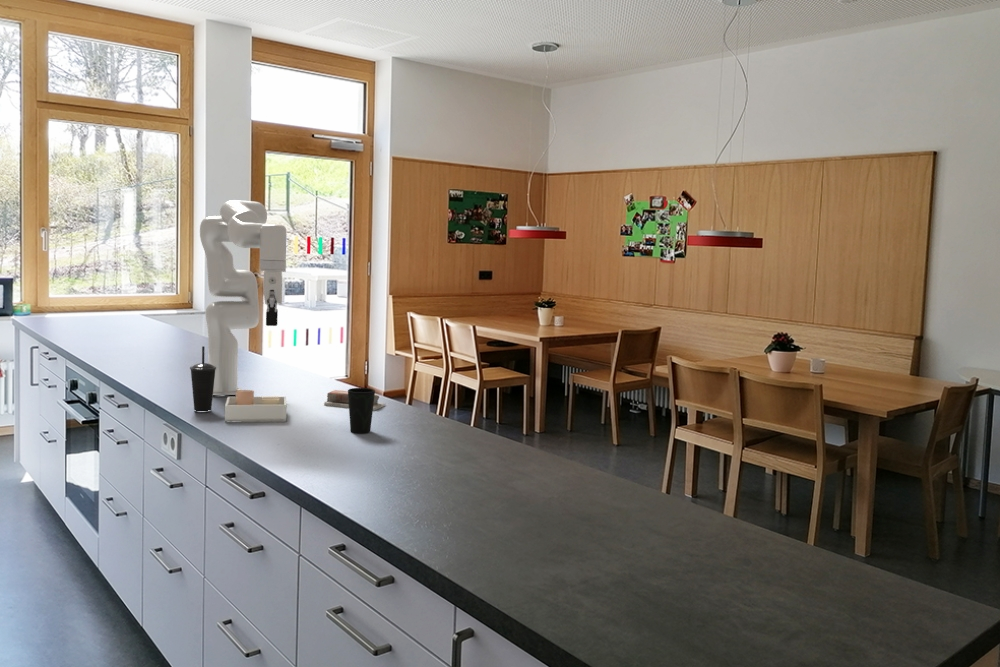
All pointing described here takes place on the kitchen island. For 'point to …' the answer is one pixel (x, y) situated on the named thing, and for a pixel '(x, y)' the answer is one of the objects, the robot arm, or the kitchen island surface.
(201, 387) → the drinking cup
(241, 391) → the cylinder
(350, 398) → the cup
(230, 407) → the tote
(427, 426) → the kitchen island surface
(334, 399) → the packaged product
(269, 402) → the cube
